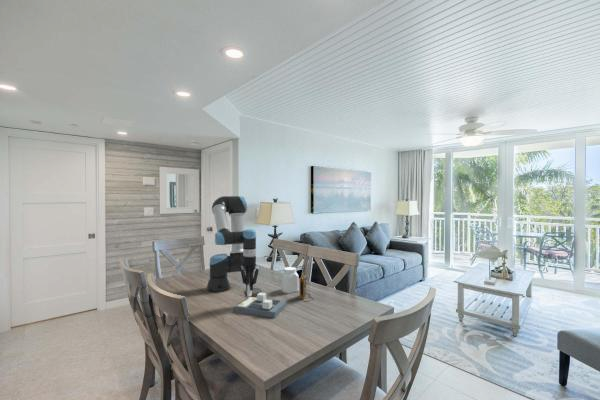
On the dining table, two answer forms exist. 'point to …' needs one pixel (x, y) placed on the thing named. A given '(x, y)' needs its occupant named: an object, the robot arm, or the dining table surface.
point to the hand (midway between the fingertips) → (249, 295)
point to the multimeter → (303, 286)
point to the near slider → (267, 304)
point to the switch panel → (260, 307)
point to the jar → (290, 280)
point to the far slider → (261, 296)
